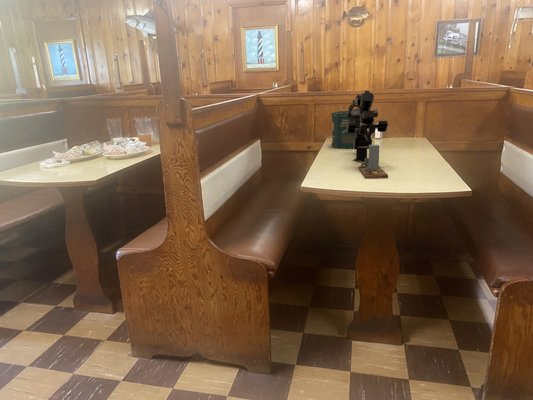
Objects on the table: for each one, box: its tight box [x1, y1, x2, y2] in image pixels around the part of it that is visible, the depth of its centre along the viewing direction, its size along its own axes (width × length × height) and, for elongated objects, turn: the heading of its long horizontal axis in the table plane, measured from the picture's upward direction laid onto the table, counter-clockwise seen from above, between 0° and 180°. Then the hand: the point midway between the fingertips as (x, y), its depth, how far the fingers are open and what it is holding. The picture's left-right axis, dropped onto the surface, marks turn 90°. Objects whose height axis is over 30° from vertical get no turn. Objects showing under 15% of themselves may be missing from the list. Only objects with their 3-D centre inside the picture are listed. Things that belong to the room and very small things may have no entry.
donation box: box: [331, 107, 359, 150], centre depth 264 cm, size 16×16×28 cm
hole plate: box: [357, 157, 389, 179], centre depth 199 cm, size 20×10×5 cm, turn 178°
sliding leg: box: [365, 144, 380, 171], centre depth 195 cm, size 3×6×12 cm, turn 88°
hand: (369, 141), depth 205 cm, fingers closed
